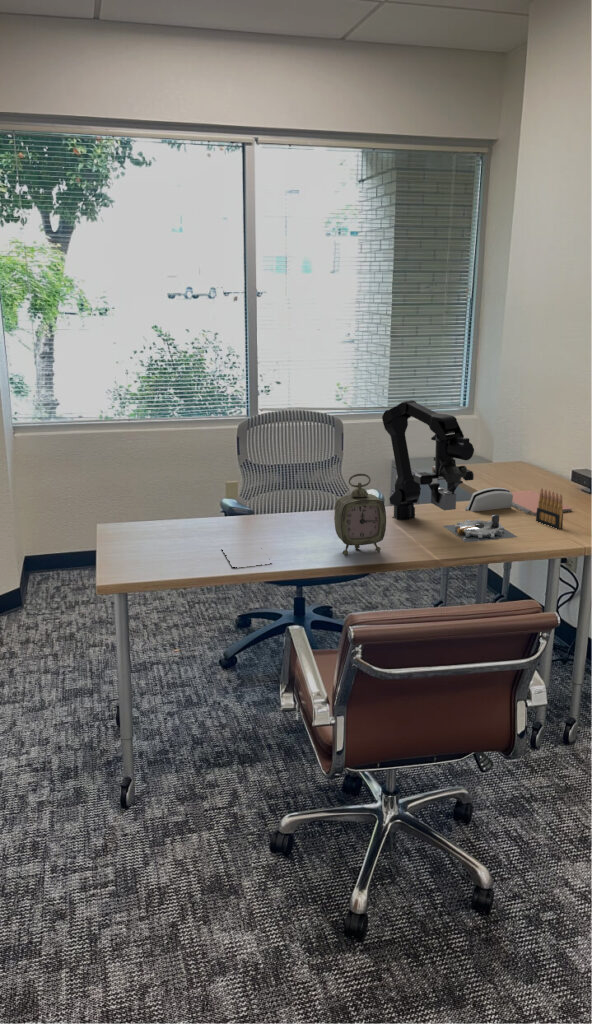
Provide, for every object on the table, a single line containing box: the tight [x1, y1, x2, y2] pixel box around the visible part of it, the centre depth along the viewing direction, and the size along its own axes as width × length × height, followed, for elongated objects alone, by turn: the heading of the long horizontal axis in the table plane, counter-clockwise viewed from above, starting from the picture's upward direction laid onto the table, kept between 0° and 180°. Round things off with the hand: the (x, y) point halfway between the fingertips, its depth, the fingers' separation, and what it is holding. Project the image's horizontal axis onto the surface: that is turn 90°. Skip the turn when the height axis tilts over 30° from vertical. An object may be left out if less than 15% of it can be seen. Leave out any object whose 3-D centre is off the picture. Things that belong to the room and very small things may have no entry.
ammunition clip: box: [535, 488, 564, 530], centre depth 255 cm, size 11×2×12 cm, turn 26°
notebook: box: [510, 489, 573, 516], centre depth 282 cm, size 27×17×2 cm, turn 16°
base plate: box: [442, 524, 518, 543], centre depth 249 cm, size 18×18×1 cm
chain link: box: [430, 486, 457, 511], centre depth 246 cm, size 4×10×5 cm, turn 15°
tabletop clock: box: [333, 473, 387, 556], centre depth 233 cm, size 14×9×25 cm, turn 103°
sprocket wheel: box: [454, 513, 505, 538], centre depth 248 cm, size 16×16×6 cm
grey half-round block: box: [464, 487, 513, 512], centre depth 273 cm, size 17×5×10 cm, turn 107°
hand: (443, 502), depth 247 cm, fingers closed on chain link, 4 cm apart
